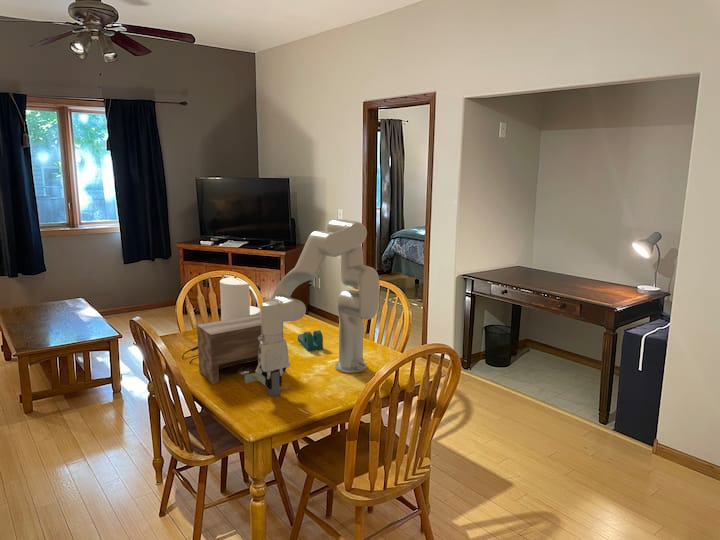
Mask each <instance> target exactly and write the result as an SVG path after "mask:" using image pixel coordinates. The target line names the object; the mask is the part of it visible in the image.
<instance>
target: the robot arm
mask: <svg viewBox="0 0 720 540" xmlns="http://www.w3.org/2000/svg"><path fill="white" fill-rule="evenodd" d="M367 235H368V230H367V228H366V226H365V225H364V224H363V223H361V222H359V221H356V220H355V221H354V220H348V219H341V218H337V219H336V218H335V219H332V220H331V219H330V221H328V223H327V225H326V230H315V231H312V232H311V233H310V235H309V236H308V237H307V240H306V241H305V244H304V246H303V249H302V251H301V253H300V255H299V258H298V260H297V262H296V264H295V266H294V268H292V269H291V270H290V271H289V272H287V274H285V275H284V276H283V277H282V278H281V279H280V281H279V282H278V283H277V285H276V287H275V289H274V291H273V294H272V296H271V299H270V300H269V301H267V300H266V301H264V302H262V303H261V305H260V314H261V336H259V337H258V340H261V341H260V344H259V350H258V360H257V366H256V369H255V372H254V373H257V374H260V375H263V376H264V377H265V385H266V386H265V385H264V386H265V387H266V388H267V389H268V388H269V389H272V379H271V378H270V373H271V371H274V370H278V371H279V381H280V388H281V387H282V383H283V382H282V381H283V380H282V379H283V378H282V377H283V375H284V372H285V371H286V369H288V368H289V367H290V366H291V363H290V357H289V356H290V355H289V349H288V342H287V339H285V338H284V323H285V322H295V321H299V320H301V319H302V318H303V317H304V316H305V315H306V311H307V307H306V304H305V303H304V302H303V301H302V300H299V299H296V298H293V297H291V296H292V294H293V292H294V291H295V289H297V287H299V286H301V285H302V284H303V283H306V282H308V281H309V282H310V281H311V280H314V279H316V278H317V277H318V275H319V273H320V272H321V268H322V266H323V263H324V261H325V259H326V257H332V258H336V257H339V256H340V281H341V283H342V284H343V286H346V287H348V288H352V289H345V290H343V291H341V292H340V293H339V294H338V296H337V299H336V308H337V314H338V325H339V326H338V328H339V329H338V361H336V362H335V364H334V368H335V370H336V371H339V372H340V373H346V374H356V373H361V372H363V371H365V370H366V369H368V365H367V363H366V362H365V358H364V322H363V320H367V321H368V320H372V319H373V318H375V317H376V315H377V314H378V311H379V305H380V303H379V302H380V277H379V274H378V272H377V270H376V269H375V268H374V267H371V266H368V265H364V250H363V247H362V246H363V245H362V244H363V243H364V242H365V240H366V238H367ZM354 289H355V290H354ZM357 290H358V291H357Z"/></svg>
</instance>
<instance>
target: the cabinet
mask: <svg viewBox="0 0 720 540" xmlns="http://www.w3.org/2000/svg"><path fill="white" fill-rule="evenodd" d="M196 331H197V332H196V334H197V346H198V349H197V350H198V351H197V352H198V357H199V358H198V371H199V373H200V374H201V373H202V374H201V375H203V376H204V378H206V379H207V380H208V381H209V382H210V383H211V382H212V384H213V385H215V384H218V383H220V372H219V371H220V369H224V368H229V367H232V366H233V367H234V366H236V365H241V364H246V363H251V362H255V361H258V350H259V344H260V341H261V340H258V337H259V336H261V313H260V314H256V315H251V316H245V317H239V318H234V319H228V320H217V321H212V322H207V323H201V324H196ZM214 383H215V384H214Z"/></svg>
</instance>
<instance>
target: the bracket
mask: <svg viewBox="0 0 720 540" xmlns="http://www.w3.org/2000/svg"><path fill="white" fill-rule="evenodd" d="M323 337H324V336H323V333H322V331H321V330H320V329H319V330H314V331H313V332H311V331H304V332H303V333H300V334H298V335H297V342H298V341H299V342H298V343H299V344H300V343H301V344H300V345H301V346H302V347H303V348H304V349H305V350H306V351H307V352H309V353H310V352H316V350H317V351H323V350H324V338H323Z"/></svg>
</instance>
